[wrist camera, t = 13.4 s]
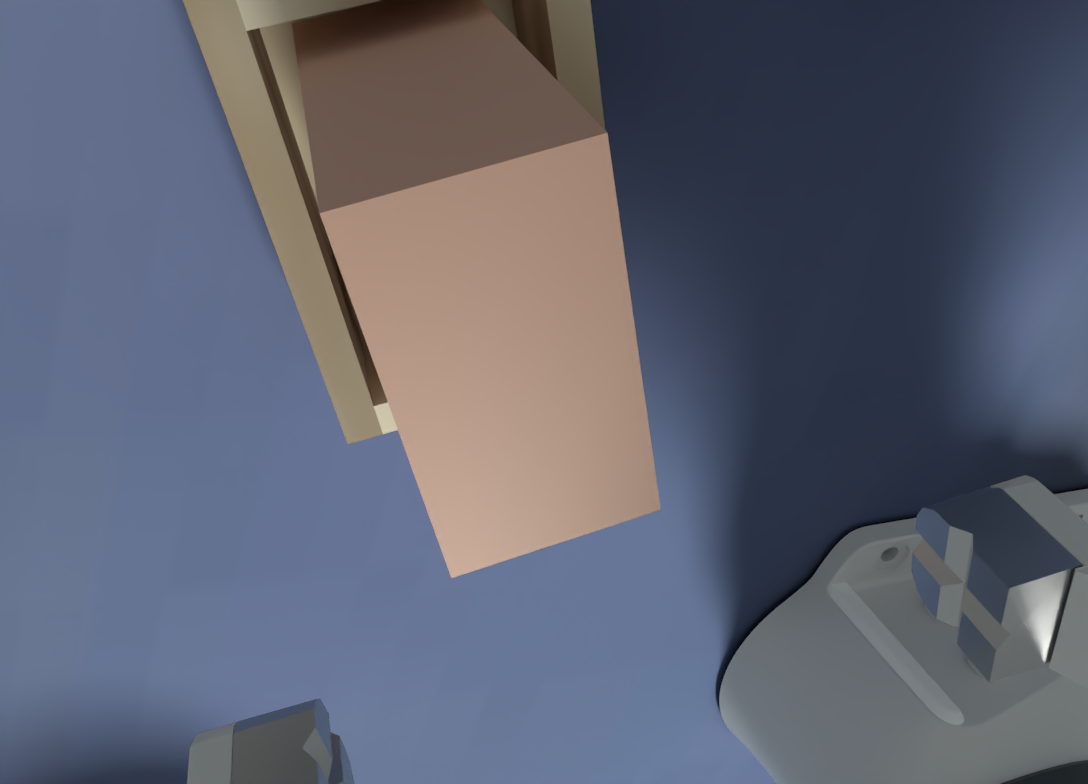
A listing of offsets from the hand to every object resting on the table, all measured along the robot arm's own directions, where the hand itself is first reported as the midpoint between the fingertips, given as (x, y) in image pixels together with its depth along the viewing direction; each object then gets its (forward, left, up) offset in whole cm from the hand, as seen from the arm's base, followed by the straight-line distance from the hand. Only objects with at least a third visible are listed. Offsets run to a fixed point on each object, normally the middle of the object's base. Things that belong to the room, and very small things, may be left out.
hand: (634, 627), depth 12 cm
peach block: (0, 0, -17) cm, 17 cm away
